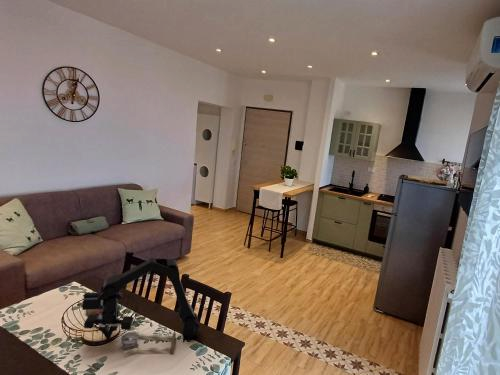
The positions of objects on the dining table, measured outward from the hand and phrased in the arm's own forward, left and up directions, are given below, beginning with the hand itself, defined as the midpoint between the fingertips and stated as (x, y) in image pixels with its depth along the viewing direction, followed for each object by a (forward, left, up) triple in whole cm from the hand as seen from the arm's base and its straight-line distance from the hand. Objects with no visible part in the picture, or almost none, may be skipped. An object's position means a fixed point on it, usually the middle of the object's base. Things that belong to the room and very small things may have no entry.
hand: (108, 339), depth 140 cm
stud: (-9, 0, -2) cm, 9 cm away
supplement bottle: (+7, -13, -2) cm, 16 cm away
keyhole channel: (-19, 0, -2) cm, 19 cm away
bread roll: (+12, -25, -3) cm, 28 cm away
